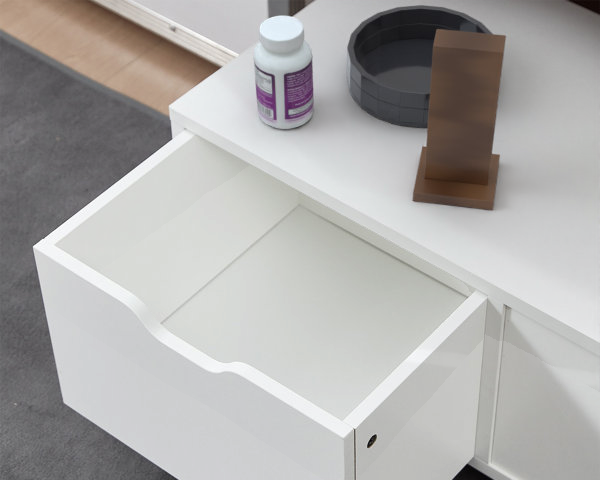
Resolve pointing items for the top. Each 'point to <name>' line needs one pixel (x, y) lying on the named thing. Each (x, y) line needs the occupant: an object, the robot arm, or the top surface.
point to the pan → (399, 60)
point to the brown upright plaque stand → (462, 121)
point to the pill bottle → (283, 73)
